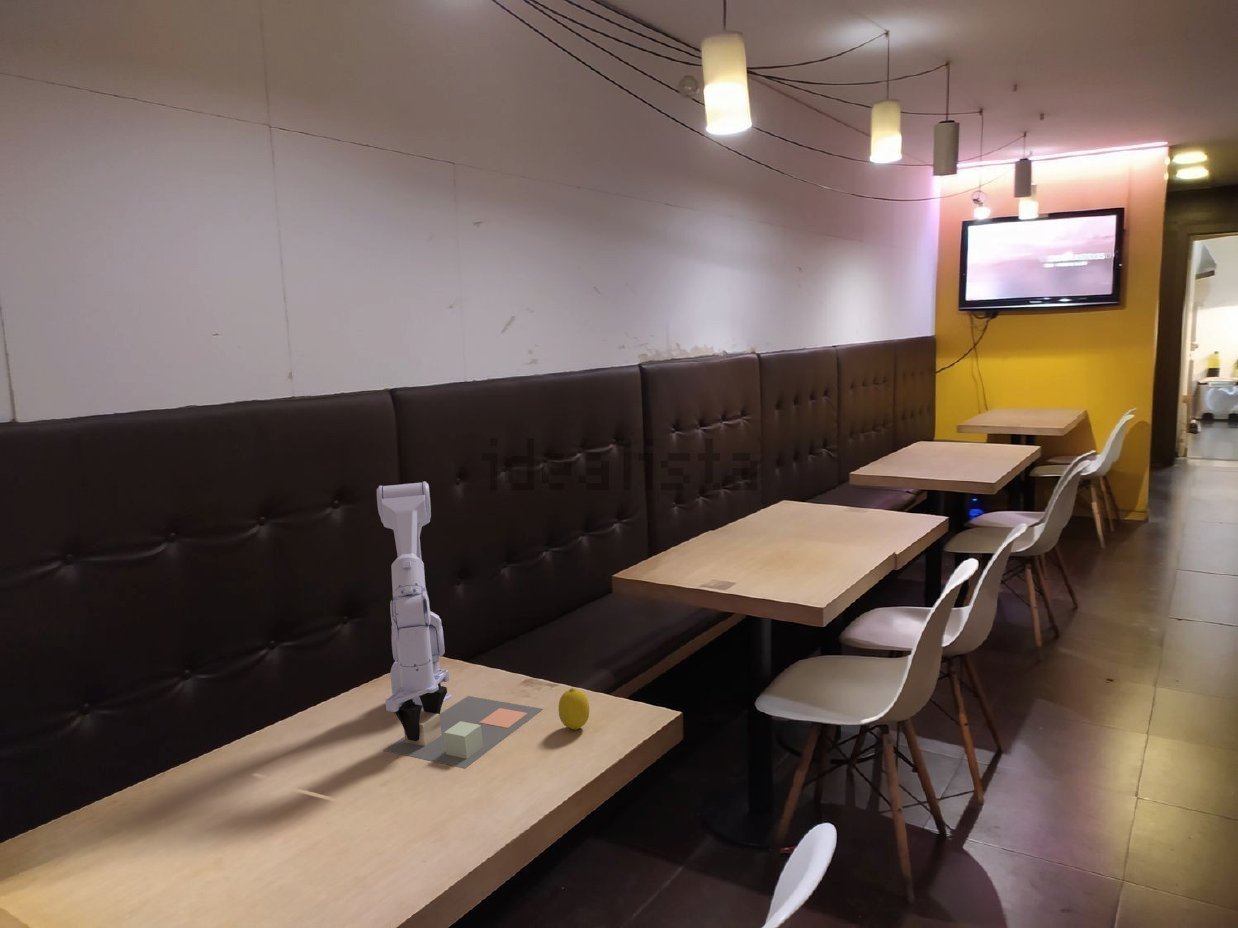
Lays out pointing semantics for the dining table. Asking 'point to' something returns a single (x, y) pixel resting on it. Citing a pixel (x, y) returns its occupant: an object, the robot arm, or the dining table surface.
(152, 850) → the dining table surface
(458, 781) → the dining table surface
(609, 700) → the dining table surface
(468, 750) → the sage block
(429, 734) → the cream block
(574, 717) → the lemon
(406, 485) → the robot arm
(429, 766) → the dining table surface
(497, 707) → the grey mat
